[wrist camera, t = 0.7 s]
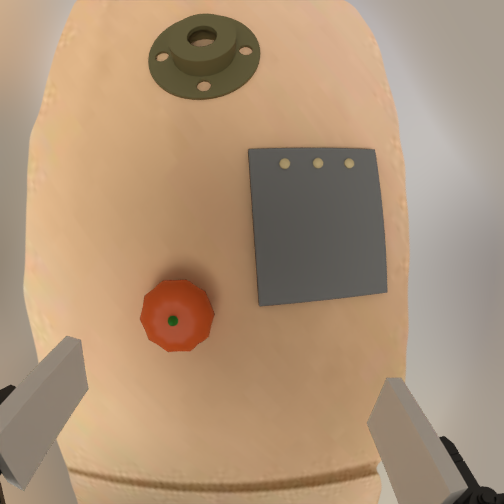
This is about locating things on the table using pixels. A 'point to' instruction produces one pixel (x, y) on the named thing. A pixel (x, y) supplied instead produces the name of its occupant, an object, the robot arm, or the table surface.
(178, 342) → the pumpkin
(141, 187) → the table surface
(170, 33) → the flange
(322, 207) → the mat
